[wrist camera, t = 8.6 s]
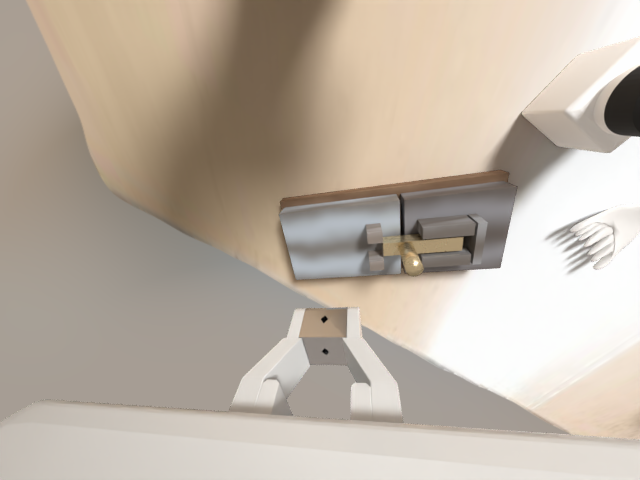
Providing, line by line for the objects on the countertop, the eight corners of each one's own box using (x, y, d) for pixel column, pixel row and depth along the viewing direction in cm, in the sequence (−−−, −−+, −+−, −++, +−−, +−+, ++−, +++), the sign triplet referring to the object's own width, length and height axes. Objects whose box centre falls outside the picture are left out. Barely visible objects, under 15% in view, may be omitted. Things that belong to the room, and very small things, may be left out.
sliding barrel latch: (283, 198, 38) (267, 216, 31) (500, 169, 32) (541, 184, 25) (300, 268, 44) (290, 296, 37) (485, 255, 38) (515, 286, 31)
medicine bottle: (557, 147, 30) (666, 163, 20) (518, 113, 29) (612, 110, 18) (618, 92, 27) (789, 76, 16) (578, 52, 26) (733, 6, 15)
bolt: (381, 237, 33) (387, 263, 27) (457, 230, 31) (482, 257, 25) (382, 249, 34) (388, 277, 28) (456, 243, 32) (480, 272, 26)
